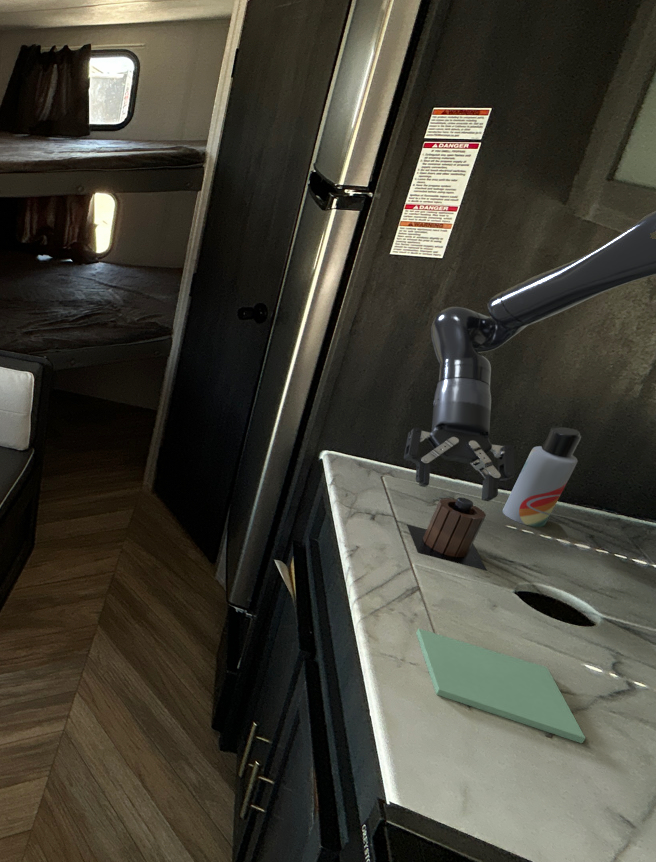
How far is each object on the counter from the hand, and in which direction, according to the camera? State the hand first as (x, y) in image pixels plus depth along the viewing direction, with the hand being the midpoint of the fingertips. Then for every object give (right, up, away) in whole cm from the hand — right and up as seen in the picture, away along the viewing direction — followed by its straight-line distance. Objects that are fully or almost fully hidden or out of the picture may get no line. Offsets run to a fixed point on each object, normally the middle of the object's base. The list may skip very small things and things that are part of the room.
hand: (455, 492), depth 110 cm
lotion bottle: (+20, -8, +8) cm, 22 cm away
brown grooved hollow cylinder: (-2, -9, -1) cm, 10 cm away
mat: (-19, -21, -24) cm, 37 cm away
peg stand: (-2, -11, 0) cm, 11 cm away
